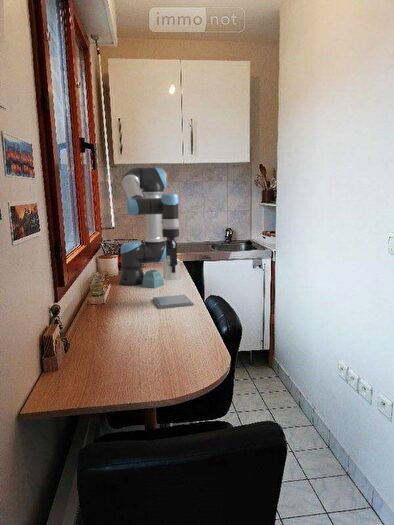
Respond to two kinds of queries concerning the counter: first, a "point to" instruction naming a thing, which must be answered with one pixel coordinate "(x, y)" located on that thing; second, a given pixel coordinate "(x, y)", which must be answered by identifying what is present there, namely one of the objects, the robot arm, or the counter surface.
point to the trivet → (172, 301)
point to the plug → (167, 269)
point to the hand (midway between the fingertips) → (171, 278)
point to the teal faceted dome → (152, 279)
